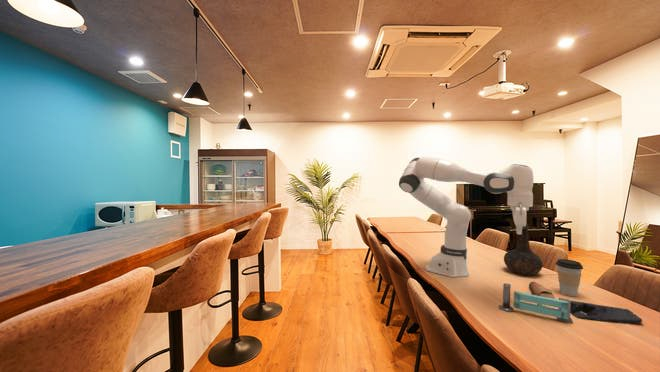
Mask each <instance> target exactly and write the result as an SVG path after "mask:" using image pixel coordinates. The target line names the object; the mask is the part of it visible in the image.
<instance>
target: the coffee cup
mask: <svg viewBox="0 0 660 372" xmlns="http://www.w3.org/2000/svg"><path fill="white" fill-rule="evenodd" d="M555 265H556V266H557V276H558V277H557V278H558V284H559V292H560V293H561V294H562V295H564V296H569V297H577V296H578V294H579V293H578V291H579V287H580V283H581V277H582V270H584V266H583V265H582V263H581V262H579V261H576V260H572V259H567V258H566V259H565V258H559V259H557V261H555Z"/></svg>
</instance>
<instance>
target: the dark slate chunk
mask: <svg viewBox="0 0 660 372" xmlns="http://www.w3.org/2000/svg"><path fill="white" fill-rule="evenodd" d="M570 302H571V307H570V315H573V316H575V317H576V318H578V319H582V320H583V319H585V320H586V319H588V320H592V321H603V322H614V323H615V322H616V323H626V324H627V323H628V324H632V323H634V324H636V323H639V324H640V323H643V319H642V318H641V317H639V316H638V315H637V314H635V313H634V312H633V311H631V310H630V309H627V308H622V307H618V306H617V307H615V306H609V305H600V304H595V303H590V302H584V301H583V302H582V301H576V300H570Z"/></svg>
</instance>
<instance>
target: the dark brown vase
mask: <svg viewBox="0 0 660 372" xmlns="http://www.w3.org/2000/svg"><path fill="white" fill-rule="evenodd" d="M528 229H529V224H528V223H526V226H525V227H524V226H523V228H522V234H521V235H520V234H517V240H516V241H517V242H516V246H515V248H514V249H512V250H509V251H507V252H506V253H505V254H504V256H503V262H504V265H505V266H506V267H507V269H508V270H510V271H511V272H513V273H515V274H519V275H522V276H534V275H537V274H539V273H540V272H541V271H542V269H543V267H544V263H543V262H544V261H543V260H542V258H541V257H540V256H539V255H538V254H536V253H534V251H532V249H531V245H530V239H529V231H528Z"/></svg>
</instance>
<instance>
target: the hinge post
mask: <svg viewBox="0 0 660 372" xmlns="http://www.w3.org/2000/svg"><path fill="white" fill-rule="evenodd" d="M502 285H503V286H502V287H503V288H502V304H499V305H498V308H499V309H500V310H501V311H504V312H506V313H507V312H508V313H513V312H515V308H514V307H512V306H511V286H512V285H511V284H510V283H506V282H505V283H503V284H502Z"/></svg>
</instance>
